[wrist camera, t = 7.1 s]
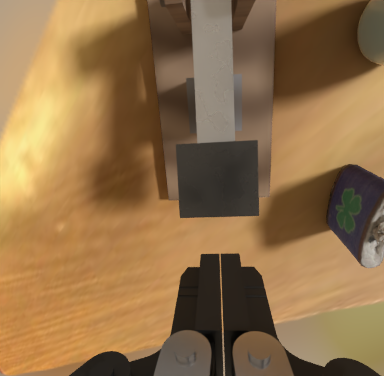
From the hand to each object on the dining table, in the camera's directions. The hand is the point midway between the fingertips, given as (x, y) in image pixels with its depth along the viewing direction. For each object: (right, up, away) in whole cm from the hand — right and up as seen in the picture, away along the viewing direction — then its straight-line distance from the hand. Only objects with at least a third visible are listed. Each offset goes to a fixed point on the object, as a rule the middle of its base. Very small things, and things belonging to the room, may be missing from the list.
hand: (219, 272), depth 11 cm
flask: (+18, +2, +24) cm, 31 cm away
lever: (+1, +11, +12) cm, 16 cm away
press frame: (+2, +14, +21) cm, 25 cm away
